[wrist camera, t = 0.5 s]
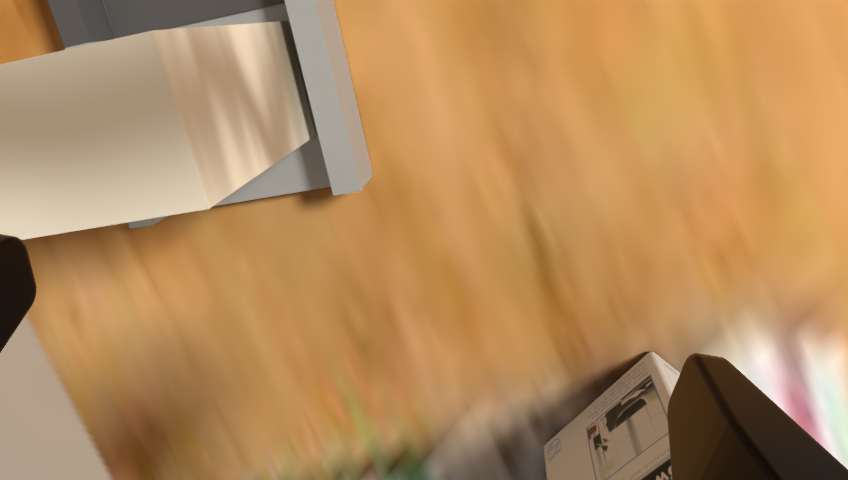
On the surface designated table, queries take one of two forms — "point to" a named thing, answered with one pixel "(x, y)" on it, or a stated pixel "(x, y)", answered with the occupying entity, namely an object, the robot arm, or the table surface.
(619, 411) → the light bulb box
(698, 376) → the robot arm
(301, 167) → the channel
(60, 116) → the cream block
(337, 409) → the table surface
